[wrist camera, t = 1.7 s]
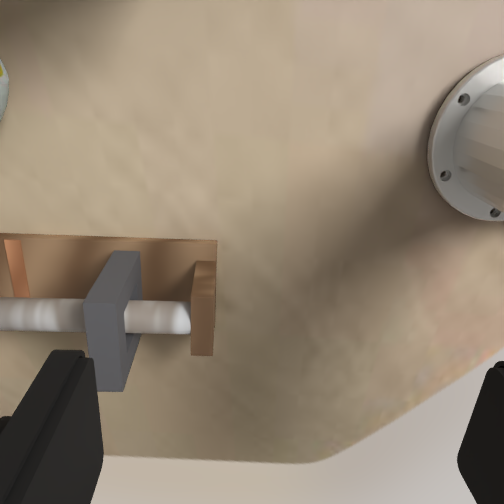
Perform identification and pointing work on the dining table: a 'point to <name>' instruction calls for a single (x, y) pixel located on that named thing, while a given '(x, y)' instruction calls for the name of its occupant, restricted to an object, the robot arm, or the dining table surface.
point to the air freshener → (3, 89)
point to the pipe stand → (86, 273)
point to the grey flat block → (113, 319)
